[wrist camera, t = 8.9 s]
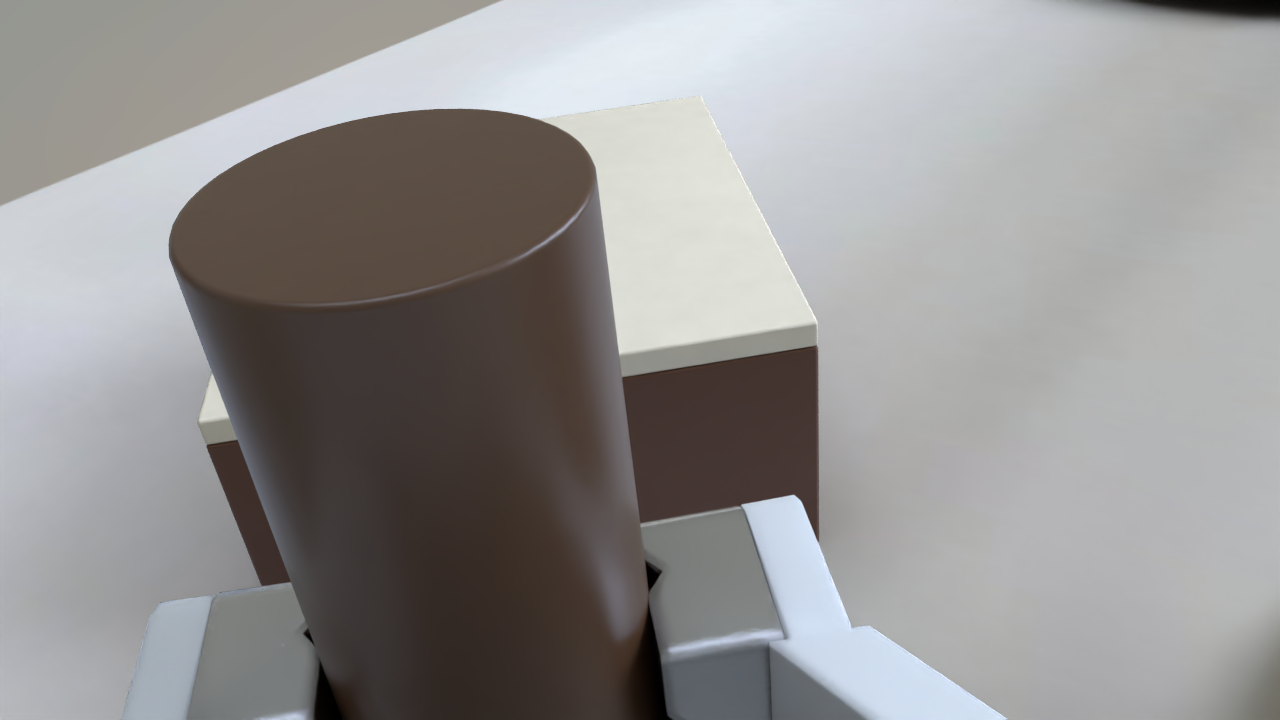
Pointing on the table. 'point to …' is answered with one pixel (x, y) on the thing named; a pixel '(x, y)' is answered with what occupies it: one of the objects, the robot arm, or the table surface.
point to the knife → (433, 411)
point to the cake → (665, 330)
